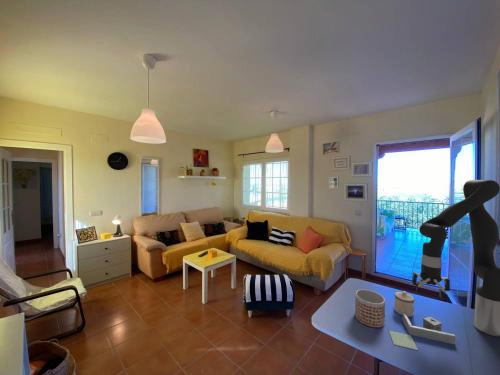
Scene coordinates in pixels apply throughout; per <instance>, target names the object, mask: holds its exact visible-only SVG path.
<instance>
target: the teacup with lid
mask: <svg viewBox="0 0 500 375" xmlns="http://www.w3.org/2000/svg"><path fill="white" fill-rule="evenodd" d="M415 301H416V300H415V298H414V297H413V295H411V294H409V293H407V291H405V290H403V291H396V292H395V293H394V311H395V312H396V313H397V314H398V315H401V316H403V313H405V314H406V315H407V317H408V318H409V317H413V316H414V310H415V308H414V307H415Z"/></svg>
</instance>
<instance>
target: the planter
mask: <svg viewBox="0 0 500 375" xmlns="http://www.w3.org/2000/svg"><path fill="white" fill-rule="evenodd" d="M354 299H355V300H354V302H355V304H354V305H355V306H354V316H355V318H356V319H357V321H358V322H360V324H363V325H364V326H367V327H369V328H376V329H377V328H382V327H384V325H385V319H386V318H385V313H386V299H385V297H384V296H383V295H381V294H380V293H378V292H376V291H373V290H370V289H364V288H362V289H358V290H356V291H355V298H354Z"/></svg>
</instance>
